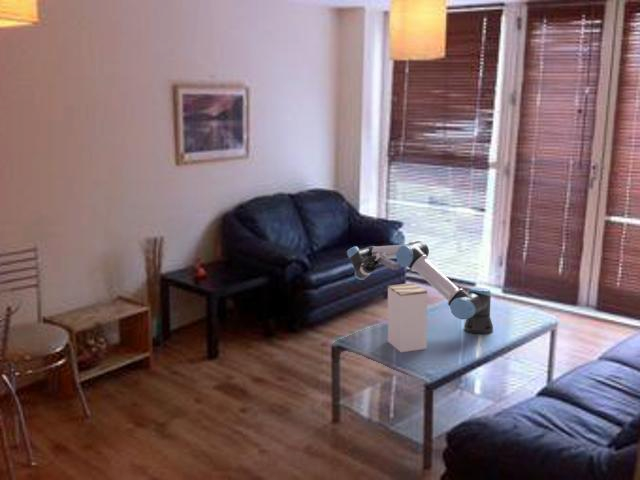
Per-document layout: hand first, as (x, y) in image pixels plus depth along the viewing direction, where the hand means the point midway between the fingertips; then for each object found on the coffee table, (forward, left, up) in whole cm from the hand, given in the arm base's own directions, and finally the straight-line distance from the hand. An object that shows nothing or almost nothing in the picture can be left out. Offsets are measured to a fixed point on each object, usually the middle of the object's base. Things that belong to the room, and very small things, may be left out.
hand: (382, 254), depth 347 cm
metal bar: (-3, +5, -4) cm, 7 cm away
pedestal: (-16, +27, -41) cm, 52 cm away
